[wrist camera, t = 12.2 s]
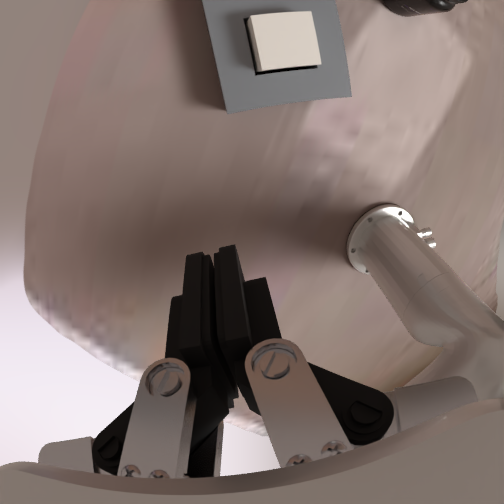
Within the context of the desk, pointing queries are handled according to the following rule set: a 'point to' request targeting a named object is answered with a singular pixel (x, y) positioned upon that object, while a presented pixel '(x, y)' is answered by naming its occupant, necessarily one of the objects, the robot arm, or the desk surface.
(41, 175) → the desk surface
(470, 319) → the robot arm
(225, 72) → the key panel
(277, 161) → the desk surface
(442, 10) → the supplement bottle
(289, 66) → the off-white key
